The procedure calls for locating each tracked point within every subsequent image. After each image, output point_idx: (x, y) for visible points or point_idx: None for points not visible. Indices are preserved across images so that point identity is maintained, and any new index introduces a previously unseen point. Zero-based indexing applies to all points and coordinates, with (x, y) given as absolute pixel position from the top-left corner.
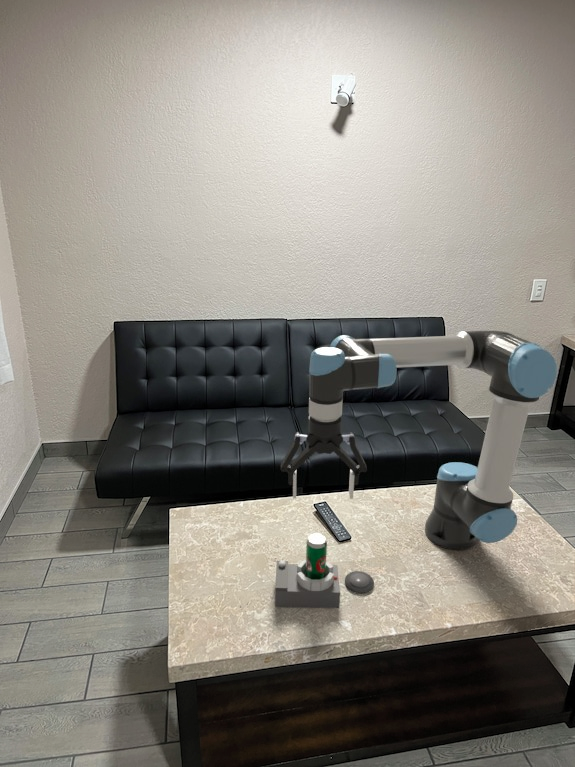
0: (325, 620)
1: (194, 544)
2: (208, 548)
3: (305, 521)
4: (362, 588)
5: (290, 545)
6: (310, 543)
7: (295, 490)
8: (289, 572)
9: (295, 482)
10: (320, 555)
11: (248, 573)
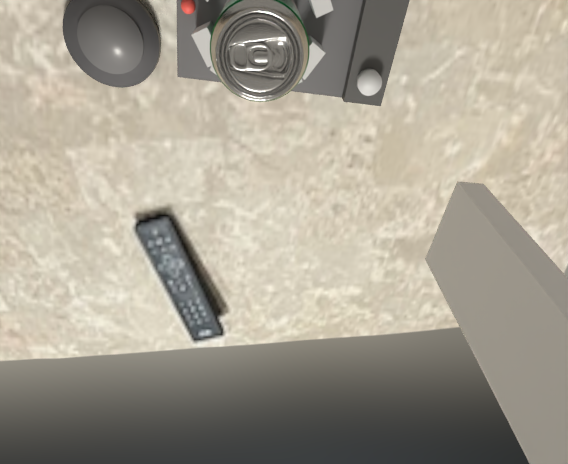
0: None
1: (539, 228)
2: (511, 213)
3: (250, 285)
4: (101, 2)
5: (301, 209)
6: (296, 30)
7: (504, 229)
8: (345, 54)
9: (563, 298)
10: None
11: (438, 113)
